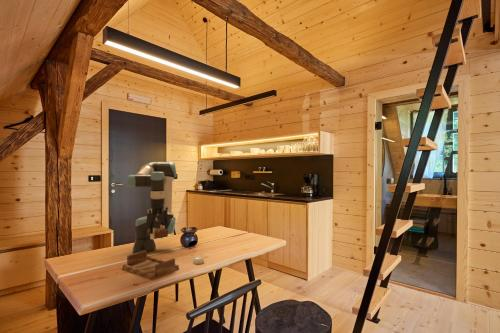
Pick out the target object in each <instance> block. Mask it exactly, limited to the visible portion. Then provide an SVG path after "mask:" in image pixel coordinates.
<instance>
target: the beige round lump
mask: <svg viewBox="0 0 500 333" xmlns="http://www.w3.org/2000/svg"><path fill="white" fill-rule="evenodd" d="M204 259H205V258H204V256H203V255H202V256H201V255H198V256H197V255H196V256H193V257H192V264H193V265H202V264H203V263H204V262H205V260H204Z"/></svg>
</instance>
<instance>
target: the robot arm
mask: <svg viewBox="0 0 500 333" xmlns="http://www.w3.org/2000/svg"><path fill="white" fill-rule="evenodd" d="M176 177H177V167H176V164H175V162H174V161H150V162H148V163H145V164H144V165H141V167H140V169H139V171H138V172H136V174H129V175H128V176H127V178H126V180H127V182H126V183H127V186H128V188H150V206H151V207H150V208H149V209H146V216H142V217H139V218H136V220H135V227H134V229H135V231H134V232H135V240H134V244H133V247H132V253H133V254H135V253H138V252H141V251H144V250H146V251H147V254H148V253H151V252H155V250H156V249H157V245H156V243H155V239H156V237H155V228H163V229H167V230H168V234H167V235H171V234H173V233H174V231H175V227H176V221H177V220H176V216H174V214H173V213H172V212H173V211H172V210H173V209H172V208H173V207H172V205H173V204H172V203H173V182H174V180H175V178H176ZM148 229H149V233H150V235H149V234H147V230H148Z"/></svg>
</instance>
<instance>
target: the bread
mask: <svg viewBox="0 0 500 333" xmlns="http://www.w3.org/2000/svg"><path fill="white" fill-rule="evenodd" d="M147 234H149V235H150V233H149V229H148V230H147ZM168 235H169V234H168V230H167V229H163V228H155V238H158V239H163V238H165V237H167V236H168Z"/></svg>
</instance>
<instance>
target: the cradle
mask: <svg viewBox="0 0 500 333" xmlns="http://www.w3.org/2000/svg"><path fill="white" fill-rule="evenodd" d="M121 269H122V270H123V271H126V272H129V273H131V274H135V275H138V276H141V277H143V278H145V279H149V280H152V281H153V280H156V279H158V278H160V277H163V276H165V275H168V274H171V273H173V272H176V271H178V270H180V265H179V264H177V263H176V258H170V259H168V260H163V259H160V258H156V257H153V256H149V255H148V253H147V251H146V250H144V251H141V252H138V253H132V254H129V255H127V256H126V264H125V263H124V264H122V268H121Z"/></svg>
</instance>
